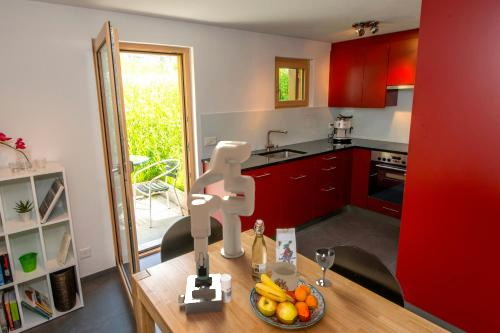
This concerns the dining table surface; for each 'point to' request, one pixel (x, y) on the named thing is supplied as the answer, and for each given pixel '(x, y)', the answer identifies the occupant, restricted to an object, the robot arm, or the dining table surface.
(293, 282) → the pitcher
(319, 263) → the wine glass
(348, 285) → the dining table surface
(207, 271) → the green drinking glass
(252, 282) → the dining table surface
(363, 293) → the dining table surface
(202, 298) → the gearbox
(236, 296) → the dining table surface
